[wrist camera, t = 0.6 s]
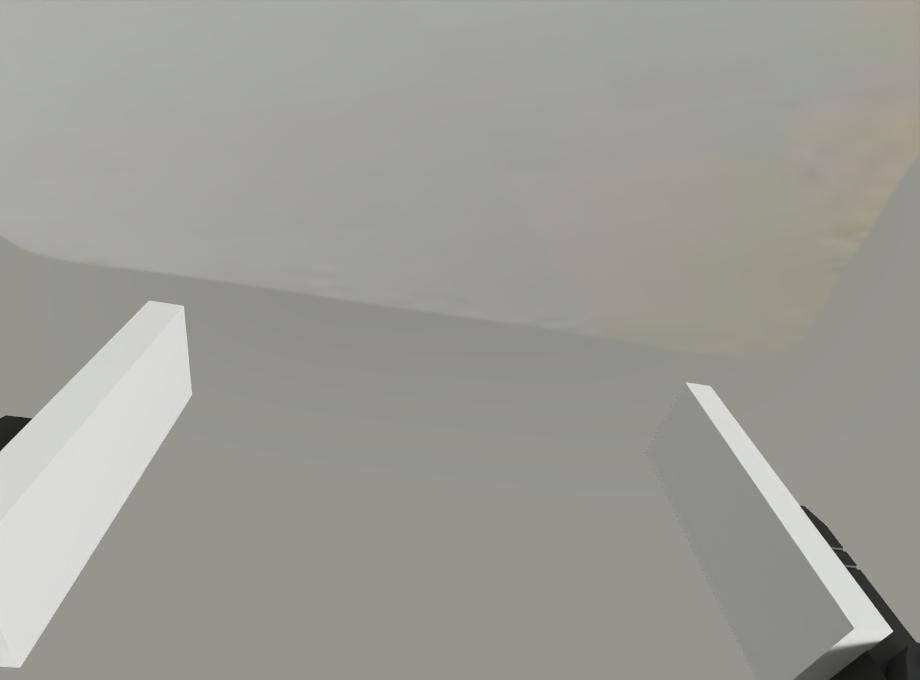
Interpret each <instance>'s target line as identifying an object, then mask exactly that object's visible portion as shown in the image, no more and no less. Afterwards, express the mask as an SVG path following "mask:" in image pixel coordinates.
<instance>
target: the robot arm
mask: <svg viewBox="0 0 920 680" xmlns="http://www.w3.org/2000/svg"><path fill="white" fill-rule="evenodd" d="M191 396H192V389H191V378H190V368H189V356H188V346H187V335H186V325H185V314H184V306H181V305H175V304H168V303H161V302H155V301H148V302H147V303H146V305H144V306H143V307H142V308H141V309H140V310H139V312H137V314H135V316H134V317H133V318H132V319H131V320H130V321H129V322H128V323H127V324H126V325H125V326H124V327H123V328H122V329H121V330H120V331H119V332H118V333H117V334H116V335H115V336H114V337H113V338H112V339H111V340H110V341H109V342H108V343H107V344H106V345H105V346H104V347H103V348H102V349H101V350H100V351H99V352H98V353H97V354H96V355H95V356H94V357H93V358H92V359H91V360H90V361H89V362H88V363H87V364H86V365H85V366H84V367H83V368H82V369H81V370H80V371H79V372H78V373H77V374H76V375H75V376H74V377H73V378H72V379H71V380H70V381H69V382H68V383H67V384H66V386H64V387H63V388H62V389H61V390H60V391H59V392H58V394H56V396H55V397H54V398H53V399H52V400H51V401H50V402H49V403H48V404H47V405H46V406H45V407H44V408H43V409H42V410H41V411H40V412H39V413H38V414H37V415H36V416H35V417H34V418H33V419H32V418H23V417H14V416H4V417H2V418H0V667H21V665H22V664H23V662H24V660H25V659H26V658H27V656H28V654H29V653H30V651H31V650H32V648H33V646H34V645H35V643H36V642H37V640H38V638H39V637H40V635H41V634H42V632H43V630H44V629H45V627H46V626H47V624H48V623H49V621H50V619H51V618H52V616H53V615H54V613H55V611H56V610H57V608H58V607H59V605H60V604H61V602H62V600H63V599H64V597H65V596H66V594H67V592H68V591H69V589H70V588H71V586H72V584H73V583H74V581H75V580H76V578H77V577H78V575H79V573H80V572H81V570H82V569H83V567H84V566H85V564H86V562H87V561H88V559H89V558H90V556H91V554H92V553H93V551H94V550H95V548H96V547H97V545H98V543H99V542H100V540H101V539H102V537H103V535H104V534H105V532H106V531H107V529H108V527H109V526H110V524H111V523H112V521H113V519H114V518H115V516H116V515H117V513H118V511H119V510H120V508H121V507H122V505H123V504H124V502H125V500H126V499H127V497H128V496H129V494H130V492H131V491H132V489H133V488H134V486H135V485H136V483H137V481H138V480H139V478H140V477H141V475H142V474H143V472H144V470H145V469H146V467H147V466H148V464H149V462H150V461H151V459H152V457H153V456H154V454H155V453H156V451H157V450H158V448H159V447H160V445H161V443H162V442H163V440H164V439H165V437H166V435H167V434H168V432H169V431H170V429H171V428H172V426H173V424H174V423H175V421H176V420H177V418H178V416H179V415H180V413H181V412H182V410H183V409H184V407H185V405H186V404H187V402H188V401H189V399H190V397H191ZM645 453H646V455H647V457H648V459H649V461H650V463H651V465H652V467H653V470H654V472H655V474H656V476H657V478H658V480H659V482H660V484H661V486H662V488H663V490H664V492H665V494H666V496H667V498H668V500H669V503H670V505H671V507H672V508H673V511H674V513H675V515H676V517H677V519H678V521H679V523H680V525H681V527H682V529H683V531H684V533H685V535H686V538H687V540H688V542H689V543H690V546H691V548H692V550H693V552H694V554H695V556H696V558H697V560H698V562H699V564H700V566H701V568H702V571H703V572H704V574H705V577H706V578H707V581H708V583H709V585H710V587H711V589H712V591H713V593H714V595H715V597H716V599H717V601H718V604H719V606H720V607H721V610H722V612H723V614H724V616H725V618H726V620H727V621H728V624H729V626H730V628H731V630H732V632H733V634H734V636H735V639H736V641H737V643H738V645H739V647H740V649H741V651H742V653H743V655H744V657H745V659H746V661H747V663H748V665H749V667H750V669H751V672H752V674H753V676H754V678H755V680H920V643H917V642H916V641H915V640H914V639H913V638H912V636H911V635H910V634H909V633H908V631H907V630H906V629H905V628H904V626H903V625H902V624H901V622H900V621H899V620H898V619H897V617H896V616H895V614H894V613H893V612H892V611H891V609H890V608H889V607H888V605H887V604H886V603H885V602H884V600H883V599H882V598H881V596H880V595H879V594H878V592H877V591H876V590H875V588H874V587H873V586H872V585H871V583H870V582H869V581H868V580H867V578H866V577H865V575H864V574H863V573H862V572H861V570H857V568H856V564H855V562H854V561H853V560H852V559H851V557H850V556H849V555H848V553H847V552H844V551H843V550H842V549H843V547H842V546H841V544H840V543H839V542H838V541H837V539H836V538H835V536H834V535H833V534H832V533H831V531H830V530H829V529H828V527H827V526H826V525H825V524H824V523H823V522H821V521H820V520H819V519H818V518H817V517H816V516H815V515H814V514H812V513H811V512H810V511H809V510H808V509H807V508H806V507H804V506H799V504H798V503H797V502H796V500H795V499H794V498H793V496H792V495H791V494H790V492H789V491H788V490H787V488H786V487H785V486H784V484H783V483H782V482H781V480H780V479H779V478H778V476H777V475H776V474H775V472H774V471H773V470H772V468H771V467H770V466H769V465H768V463H767V462H766V460H765V459H764V457H763V456H762V455H761V454H760V452H759V451H758V449H757V448H756V447H755V445H754V444H753V443H752V441H751V440H750V439H749V437H748V436H747V435H746V433H745V432H744V431H743V429H742V428H741V427H740V425H739V424H738V423H737V421H736V420H735V419H734V417H733V416H732V415H731V413H730V412H729V411H728V409H727V408H726V407H725V405H724V404H723V403H722V401H721V400H720V399H719V397H718V396H717V395H716V393H715V392H714V390H713V389H712V388H711V387H710V386H705V385H699V384H692V383H685V384H684V386H683V388H682V390H681V391H680V393H679V395H678V396H677V398H676V400H675V402H674V403H673V405H672V407H671V409H670V410H669V412H668V414H667V416H666V417H665V419H664V421H663V423H662V424H661V426H660V428H659V429H658V432H657V433H656V435H655V436H654V438H653V440H652V442H651V443H650V445H649V447H648V449H647V450H646V452H645Z"/></svg>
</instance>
